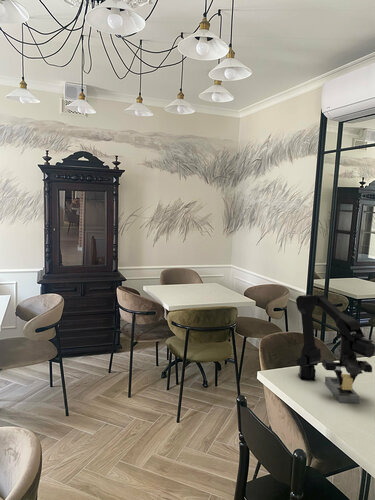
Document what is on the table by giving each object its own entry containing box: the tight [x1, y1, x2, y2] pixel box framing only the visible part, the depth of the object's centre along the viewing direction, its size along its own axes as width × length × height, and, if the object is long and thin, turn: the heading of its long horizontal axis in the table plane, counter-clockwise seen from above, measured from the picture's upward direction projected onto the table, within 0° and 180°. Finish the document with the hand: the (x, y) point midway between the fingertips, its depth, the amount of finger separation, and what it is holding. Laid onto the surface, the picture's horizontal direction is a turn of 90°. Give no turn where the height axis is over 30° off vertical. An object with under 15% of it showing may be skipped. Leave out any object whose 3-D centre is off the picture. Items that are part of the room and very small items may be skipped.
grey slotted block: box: [324, 376, 360, 405], centre depth 154 cm, size 8×18×3 cm, turn 176°
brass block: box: [339, 373, 354, 390], centre depth 149 cm, size 4×4×5 cm
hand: (345, 385), depth 149 cm, fingers closed on brass block, 4 cm apart
